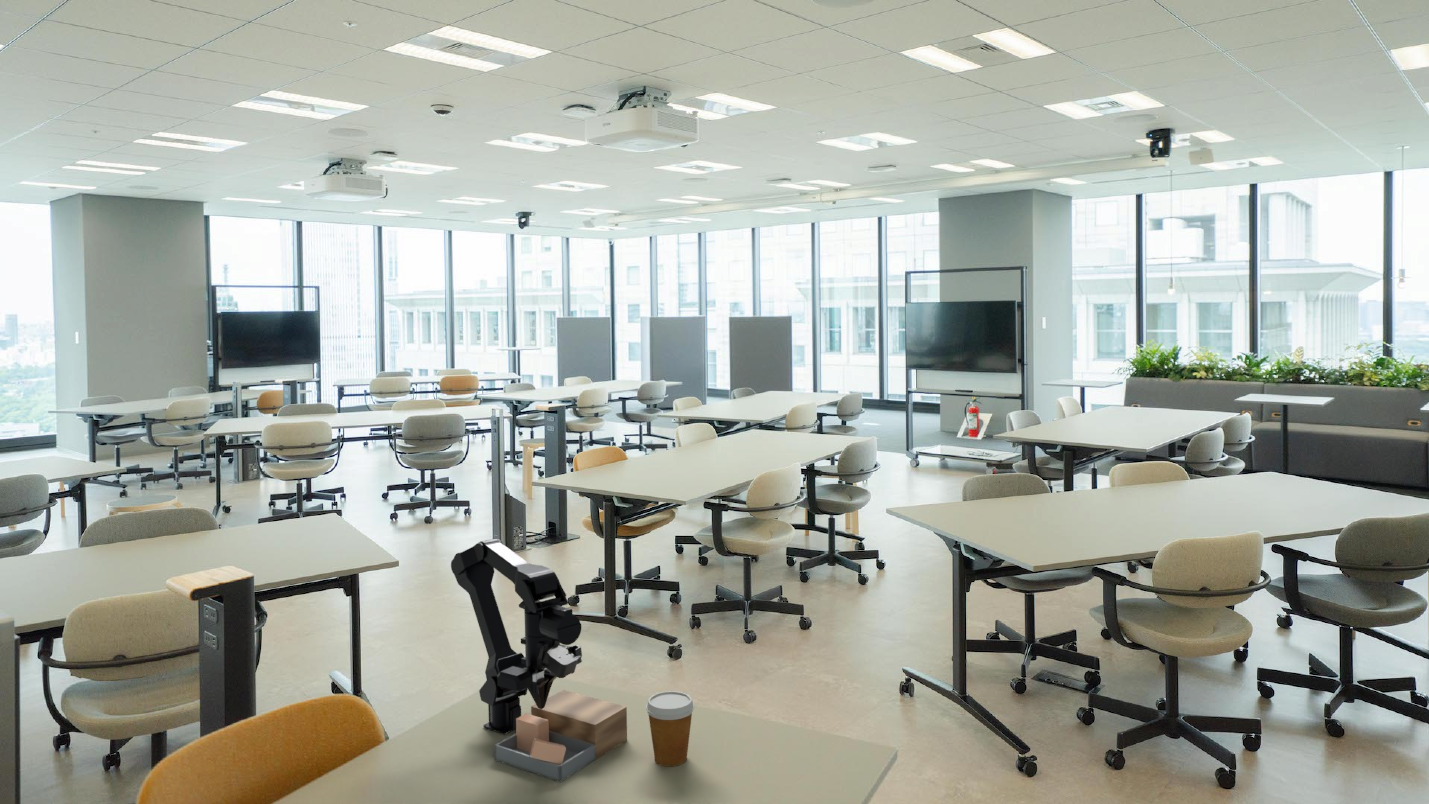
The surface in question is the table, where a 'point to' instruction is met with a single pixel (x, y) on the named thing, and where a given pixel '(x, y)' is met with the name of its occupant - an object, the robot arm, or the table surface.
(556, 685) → the table surface
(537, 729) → the tile
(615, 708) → the brown wooden block
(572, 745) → the tray
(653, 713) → the disposable coffee cup
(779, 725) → the table surface
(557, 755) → the tile
